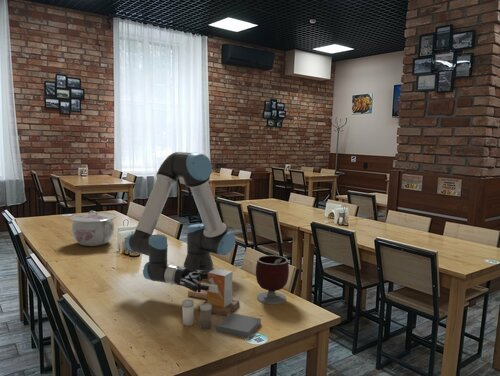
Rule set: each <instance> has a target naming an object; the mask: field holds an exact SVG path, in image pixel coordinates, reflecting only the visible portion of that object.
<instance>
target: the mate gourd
mask: <svg viewBox="0 0 500 376" xmlns="http://www.w3.org/2000/svg"><path fill="white" fill-rule="evenodd" d="M289 275H290V266H289V259H288V258H287V257H284V256H280V255H272V254H270V255H269V254H267V255H261V256H258V258H257V261H256V266H255V279H256V282H257V284H258V285H259V287H260V288H261V289H263V290H266V291H263V292H261V293H259V294H257V296H256V300H257V301H258V302H260V303H262V304H265V305H280V304H283V303H284V302H286V301H287V297H286V295H285V294H283V293H280V292H278V291H280V290H282V289H284V287H285V286H286V285H287V284H288V280H289ZM276 291H277V292H276Z"/></svg>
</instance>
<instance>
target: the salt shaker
mask: <svg viewBox="0 0 500 376" xmlns="http://www.w3.org/2000/svg"><path fill="white" fill-rule="evenodd" d="M194 305H195V302H194V300H193V299H184V300H182V301H181V307H182V325H183V326H186V327H187V326H188V327H190V326H193V325H194V324H195V315H194V314H195V313H194V312H195V310H194Z"/></svg>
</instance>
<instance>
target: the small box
mask: <svg viewBox="0 0 500 376" xmlns="http://www.w3.org/2000/svg"><path fill="white" fill-rule="evenodd" d="M206 280H207V282H206V283H207V284H212V285H218V292H217V293H214V292H209V291H207V299H206V300H207V303H210V304H211V305H215V306H219V307H223V308H225V307H226V306H228V305H229V304H230V303H232V299H233V271H230V270H225V269H220V268H213V269H212V270H211V271H210V272H208V279H206Z"/></svg>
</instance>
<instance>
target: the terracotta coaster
mask: <svg viewBox="0 0 500 376" xmlns="http://www.w3.org/2000/svg"><path fill="white" fill-rule="evenodd" d="M199 283H200V284H201V285H202V283H204V282H203V281H200V282H199ZM205 283H206V284H207V282H205ZM187 296H189V297H194V298H199V299H203V300H204V299H205V300H207V291H203V290H201V292H198V290H197V292H194V291H192V290H190V289H188V290H187Z"/></svg>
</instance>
